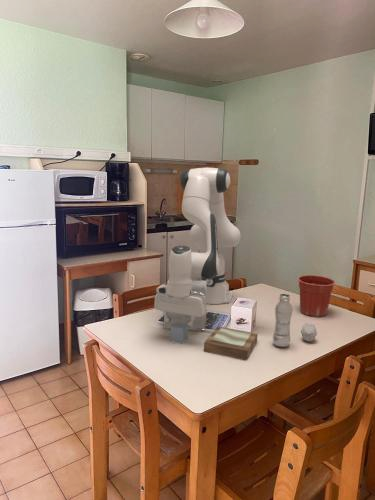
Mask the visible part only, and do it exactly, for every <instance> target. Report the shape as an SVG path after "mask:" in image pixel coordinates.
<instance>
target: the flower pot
mask: <svg viewBox="0 0 375 500" xmlns="http://www.w3.org/2000/svg"><path fill="white" fill-rule="evenodd" d="M297 281H298V287H299V312H300V313H301V314H303V315H304V316H311V317H314V318H322V317H326V316H327V314H328V311H329V310H328V309H329V306H330V300H331V296H332V295H331V294H332V292H333V288H334V285H335V283H336V281H335V280H334V279H332V278H329V277H327V276H322V275H321V276H320V275H314V274H313V275H300V276H298V277H297Z"/></svg>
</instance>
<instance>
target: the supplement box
mask: <svg viewBox="0 0 375 500" xmlns="http://www.w3.org/2000/svg"><path fill="white" fill-rule="evenodd" d="M166 283H169V279H168V280H167V282H166ZM192 291H195V292H201V293H202V294H204V295H205V297H206V296H207V283H206V281H202V280H192ZM205 309H206V310H207V303H206V302H205ZM168 315H169V317H171V322H166V318H165V316H164V315H163V329H164V330H168V329H169V330H171V326H172V325H174V324H175V323H176V322H179V323H185V324H188V322H189V321H191V320H192V318H191V316H189V315H183V314H178V313H172V312H168ZM205 323H207V311H206V312H205V314H204V316H202V317H196V318H195V320H194V321H193V326H192V327H190V326H188V331H195V332H196V331H197V332H203V331H202V329H204V328H205V329H206V324H205Z"/></svg>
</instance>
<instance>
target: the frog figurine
mask: <svg viewBox="0 0 375 500" xmlns="http://www.w3.org/2000/svg"><path fill="white" fill-rule="evenodd" d="M300 333H301V338H302V339H303V340H304V341H305V342H313V341H314V339H315V338H316V337H317V334H318V332H317V328H316V326H315V323H311V322H304V325H303V326H302V328H301V329H300Z"/></svg>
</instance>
